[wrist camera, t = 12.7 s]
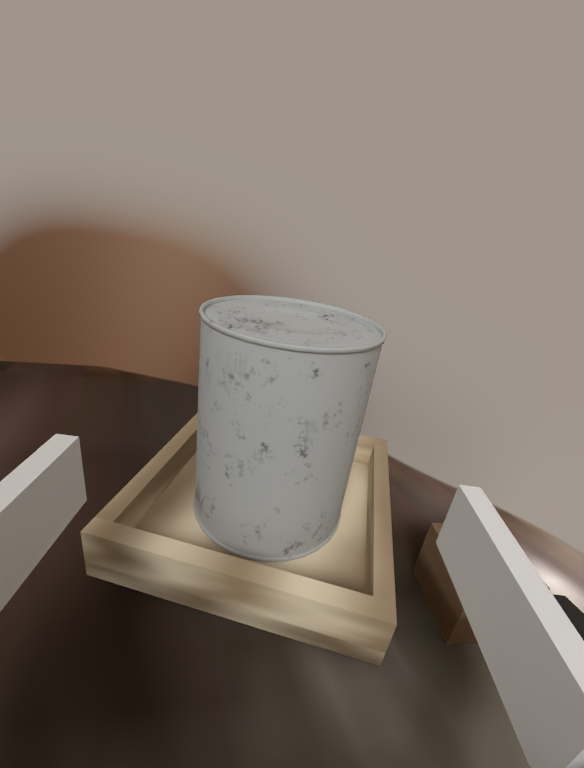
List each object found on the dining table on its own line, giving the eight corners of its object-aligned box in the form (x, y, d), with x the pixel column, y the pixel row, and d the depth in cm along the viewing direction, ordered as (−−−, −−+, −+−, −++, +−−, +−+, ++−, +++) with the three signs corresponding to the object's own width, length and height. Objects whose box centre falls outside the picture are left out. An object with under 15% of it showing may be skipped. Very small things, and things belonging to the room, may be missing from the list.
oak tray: (86, 574, 19) (80, 531, 17) (208, 430, 32) (209, 400, 31) (380, 666, 17) (396, 624, 15) (378, 470, 30) (386, 440, 29)
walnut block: (445, 645, 18) (472, 590, 16) (411, 573, 21) (431, 522, 20) (516, 641, 19) (550, 589, 17) (472, 572, 22) (496, 523, 21)
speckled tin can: (208, 450, 28) (216, 288, 23) (331, 462, 29) (365, 307, 23) (174, 555, 19) (175, 331, 14) (352, 569, 20) (413, 360, 15)
